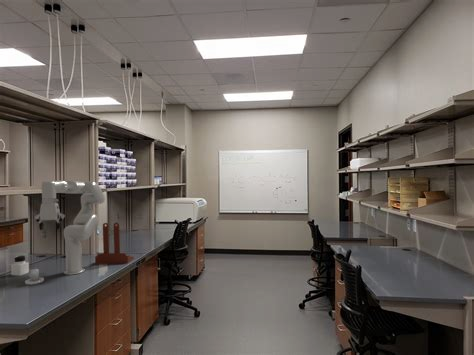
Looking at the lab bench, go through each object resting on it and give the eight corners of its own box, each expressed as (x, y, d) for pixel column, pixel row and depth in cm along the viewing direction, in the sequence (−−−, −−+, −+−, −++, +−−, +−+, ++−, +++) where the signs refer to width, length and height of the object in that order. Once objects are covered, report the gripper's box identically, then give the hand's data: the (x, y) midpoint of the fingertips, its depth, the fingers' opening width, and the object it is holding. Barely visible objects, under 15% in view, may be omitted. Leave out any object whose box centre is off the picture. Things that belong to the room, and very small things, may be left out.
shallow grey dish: (30, 280, 209) (30, 277, 209) (47, 279, 209) (47, 276, 209) (21, 285, 199) (21, 282, 199) (38, 284, 199) (38, 281, 199)
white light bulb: (32, 278, 206) (32, 269, 206) (40, 278, 207) (40, 268, 207) (27, 281, 200) (26, 271, 200) (35, 281, 200) (35, 271, 200)
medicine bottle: (29, 272, 226) (28, 254, 226) (20, 275, 219) (19, 257, 219) (20, 272, 228) (19, 254, 228) (11, 275, 221) (10, 257, 221)
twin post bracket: (133, 258, 257) (132, 220, 257) (127, 263, 244) (126, 222, 244) (103, 259, 258) (101, 220, 258) (95, 263, 245) (94, 223, 245)
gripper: (66, 200, 207) (67, 228, 207) (37, 201, 206) (38, 229, 206) (61, 201, 200) (62, 229, 200) (31, 202, 198) (31, 231, 198)
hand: (50, 229), depth 203 cm, fingers open, 9 cm apart
